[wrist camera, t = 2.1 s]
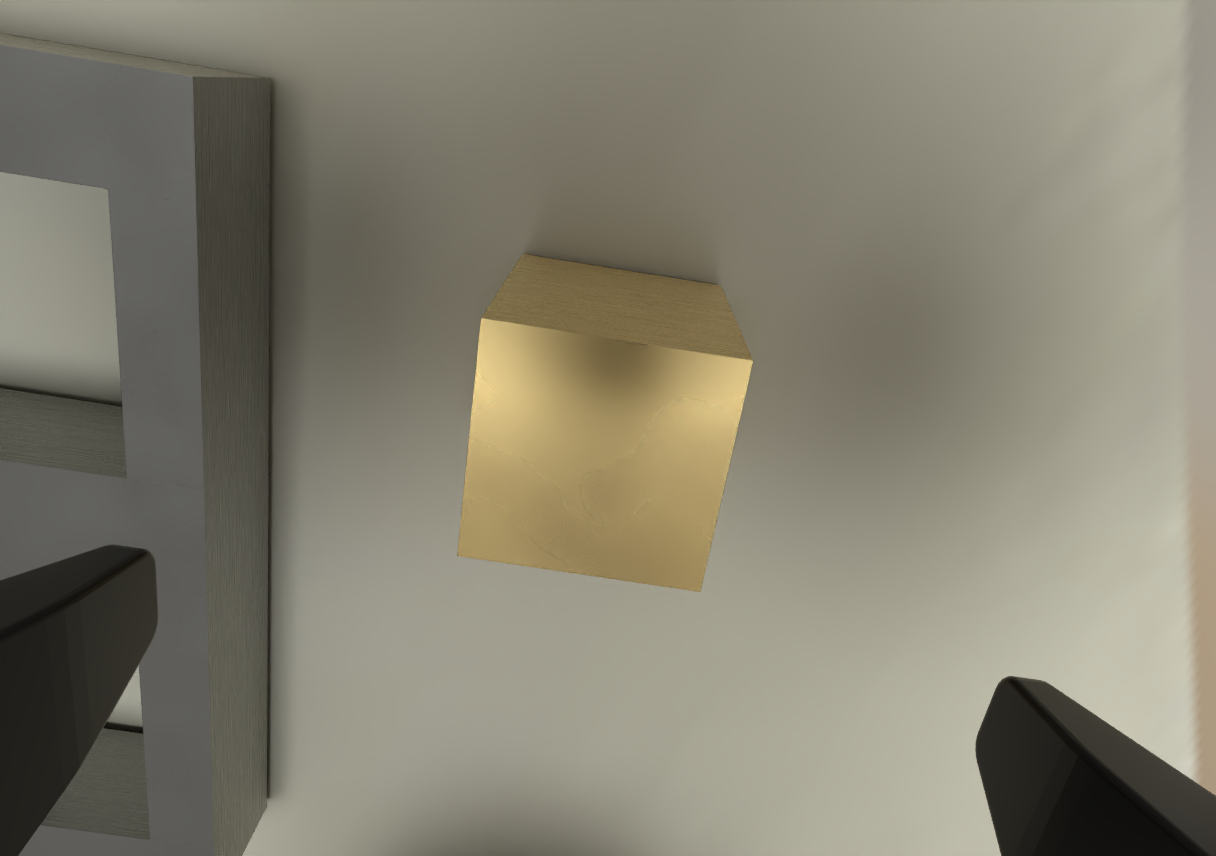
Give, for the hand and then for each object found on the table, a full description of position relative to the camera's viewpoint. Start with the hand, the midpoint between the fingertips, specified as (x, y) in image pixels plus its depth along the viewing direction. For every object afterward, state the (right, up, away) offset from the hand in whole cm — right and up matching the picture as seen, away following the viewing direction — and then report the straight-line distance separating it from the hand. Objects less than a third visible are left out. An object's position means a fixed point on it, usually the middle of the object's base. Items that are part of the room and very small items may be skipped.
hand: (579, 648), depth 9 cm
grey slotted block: (-11, +1, +10) cm, 15 cm away
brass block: (0, +4, +9) cm, 10 cm away
